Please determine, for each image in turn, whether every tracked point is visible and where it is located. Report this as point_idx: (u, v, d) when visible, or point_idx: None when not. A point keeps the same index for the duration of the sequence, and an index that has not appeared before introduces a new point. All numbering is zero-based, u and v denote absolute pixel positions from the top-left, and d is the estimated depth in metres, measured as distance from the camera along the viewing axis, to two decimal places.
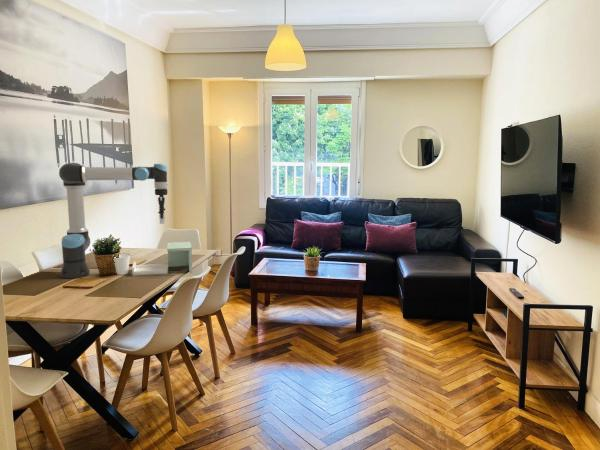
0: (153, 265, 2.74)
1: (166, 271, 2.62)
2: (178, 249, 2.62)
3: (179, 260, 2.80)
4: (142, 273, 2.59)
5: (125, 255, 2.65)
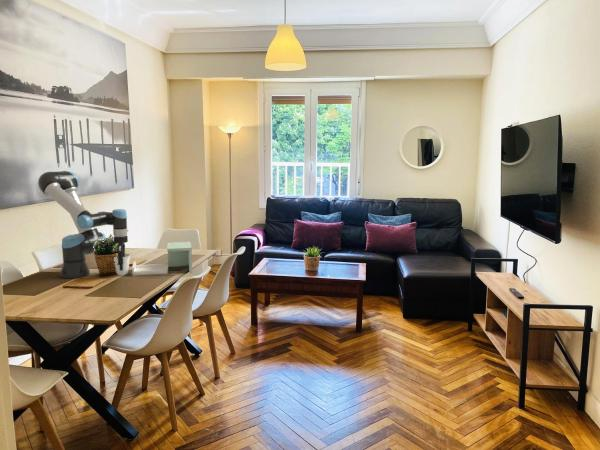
0: (153, 265, 2.74)
1: (166, 271, 2.62)
2: (178, 249, 2.62)
3: (179, 260, 2.80)
4: (142, 273, 2.59)
5: (125, 255, 2.65)
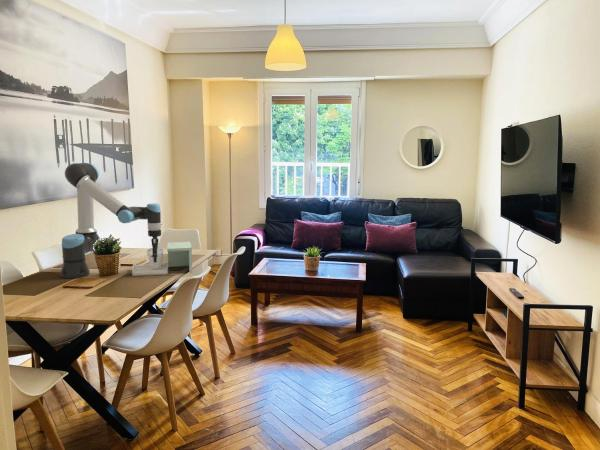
0: None
1: (166, 271, 2.62)
2: (178, 249, 2.62)
3: (179, 260, 2.80)
4: (142, 273, 2.59)
5: (158, 249, 2.71)
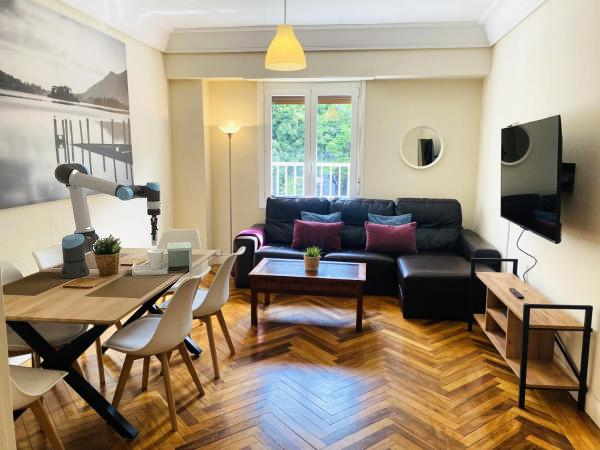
0: None
1: (166, 271, 2.62)
2: (178, 249, 2.62)
3: (179, 260, 2.80)
4: (142, 273, 2.59)
5: (159, 250, 2.74)
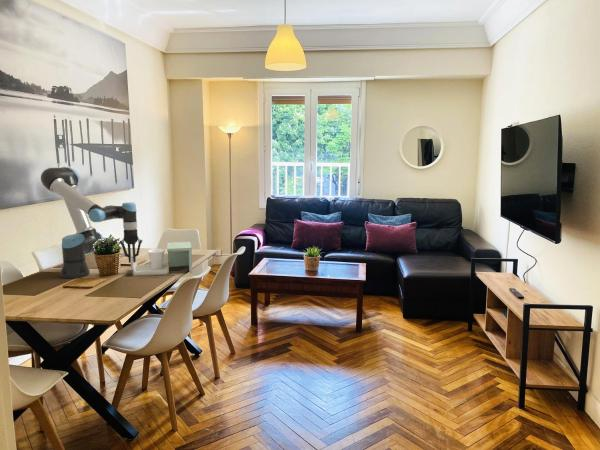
0: None
1: (167, 271, 2.62)
2: (178, 249, 2.62)
3: (179, 260, 2.80)
4: (143, 273, 2.59)
5: (159, 250, 2.74)
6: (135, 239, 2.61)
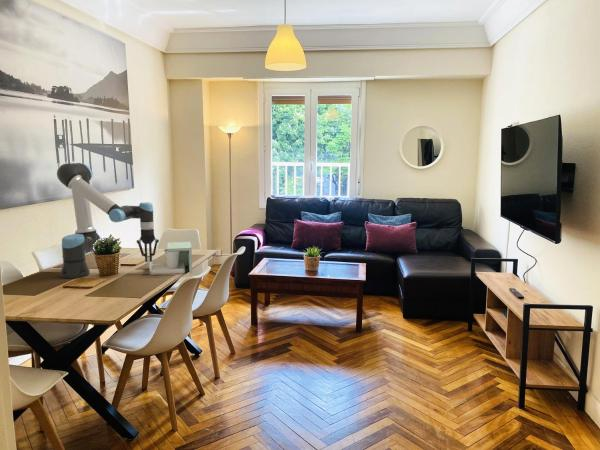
0: None
1: (183, 270, 2.65)
2: (178, 249, 2.62)
3: (179, 260, 2.80)
4: (159, 272, 2.61)
5: None
6: (152, 239, 2.64)
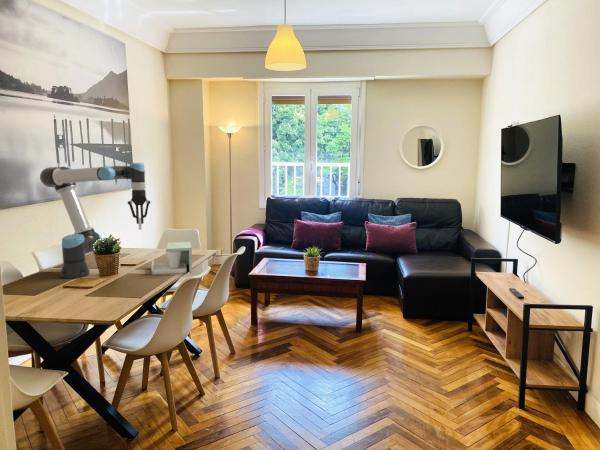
0: None
1: (185, 270, 2.65)
2: (178, 249, 2.62)
3: None
4: (161, 272, 2.62)
5: None
6: (143, 200, 2.59)
